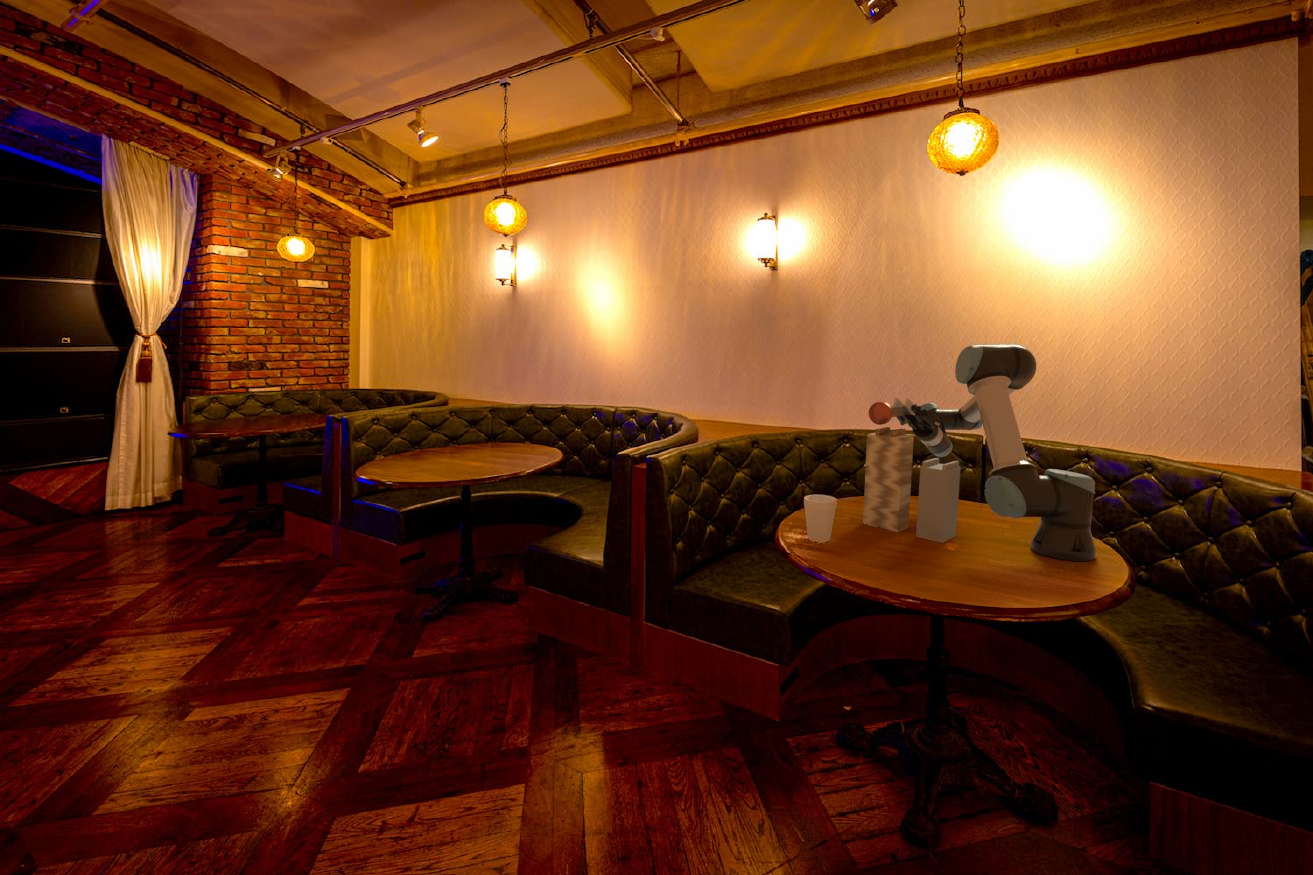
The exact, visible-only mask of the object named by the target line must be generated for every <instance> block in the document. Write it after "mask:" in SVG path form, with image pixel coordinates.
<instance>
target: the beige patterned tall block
mask: <svg viewBox="0 0 1313 875" xmlns="http://www.w3.org/2000/svg"><path fill="white" fill-rule="evenodd" d="M914 437H915V435H910V434H909V435H908V434H906V428H896V429H892V430H891V426H890V427H889V426H885V427H880V428H875V432H873V433H871V432H870V433H867V434H866V451H865V470H864V472H865V474H864V491H863V492H864V493H863V494H864V496H863V515H862V516H863V517H862V524H863V523H864V524H863V525H865V524H868V525H867V526H870V525H871V526H870V527H874V528H878V527H880V528H879V529H882V528H883V529H882V530H886V529H887V531H891V532H895V533H899V532H901V531H904V530H906V529H908V528H909V520H910V508H911V488H912V473H913V451H914V439H915V438H914Z"/></svg>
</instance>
